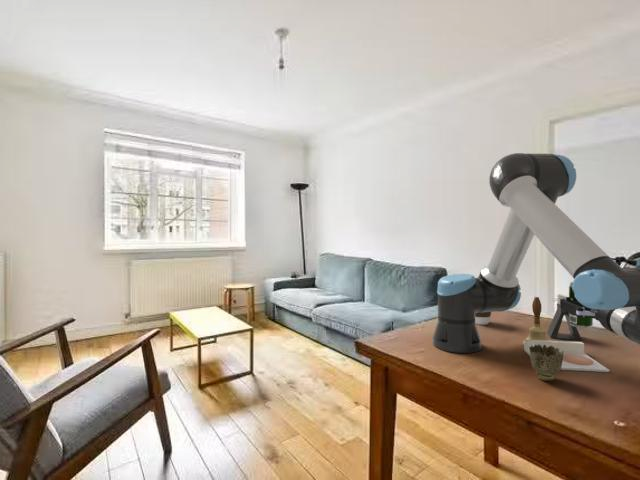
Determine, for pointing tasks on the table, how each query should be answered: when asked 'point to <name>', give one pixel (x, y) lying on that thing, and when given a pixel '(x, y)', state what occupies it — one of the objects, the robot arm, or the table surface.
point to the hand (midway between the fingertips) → (570, 298)
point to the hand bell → (536, 323)
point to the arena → (570, 355)
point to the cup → (546, 361)
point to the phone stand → (556, 325)
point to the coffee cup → (482, 318)
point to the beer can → (573, 320)
